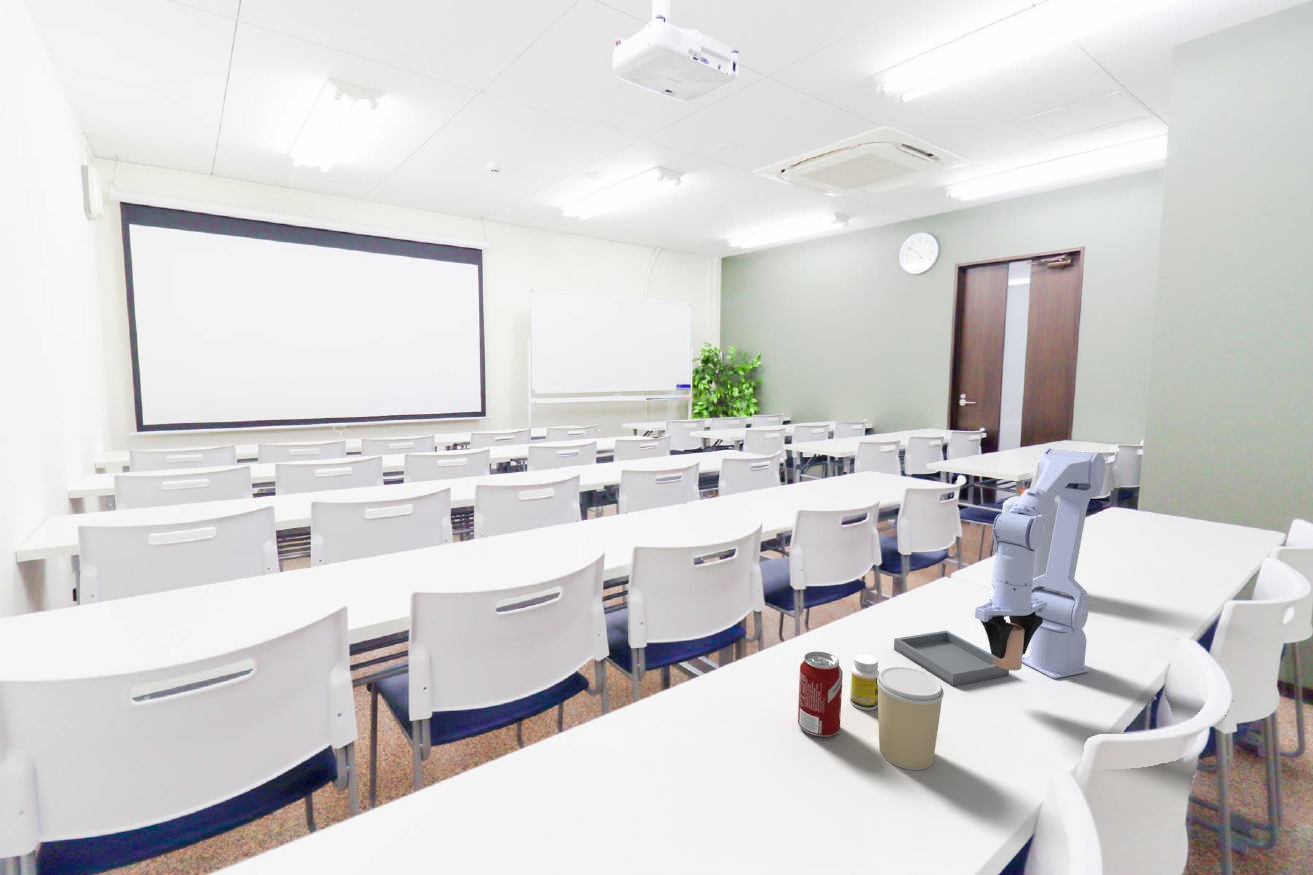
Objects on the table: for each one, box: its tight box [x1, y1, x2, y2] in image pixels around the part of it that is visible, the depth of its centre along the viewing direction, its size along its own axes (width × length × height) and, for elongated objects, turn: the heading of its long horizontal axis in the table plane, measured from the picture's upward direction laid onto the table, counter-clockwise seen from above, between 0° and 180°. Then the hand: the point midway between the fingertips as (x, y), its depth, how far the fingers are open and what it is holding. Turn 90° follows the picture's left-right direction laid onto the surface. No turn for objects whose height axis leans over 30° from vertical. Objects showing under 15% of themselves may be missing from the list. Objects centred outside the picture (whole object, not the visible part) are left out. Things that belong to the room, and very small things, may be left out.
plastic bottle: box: [990, 487, 1060, 593], centre depth 164 cm, size 15×15×28 cm
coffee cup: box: [877, 666, 945, 771], centre depth 92 cm, size 9×9×12 cm
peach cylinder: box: [993, 621, 1025, 672], centre depth 107 cm, size 4×4×7 cm
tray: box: [893, 630, 1010, 687], centre depth 123 cm, size 14×16×2 cm
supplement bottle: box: [849, 653, 880, 711], centre depth 107 cm, size 5×5×8 cm
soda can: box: [797, 651, 843, 738], centre depth 99 cm, size 7×7×12 cm
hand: (1008, 654), depth 107 cm, fingers closed on peach cylinder, 4 cm apart
